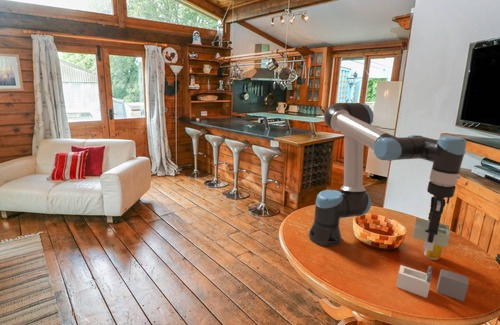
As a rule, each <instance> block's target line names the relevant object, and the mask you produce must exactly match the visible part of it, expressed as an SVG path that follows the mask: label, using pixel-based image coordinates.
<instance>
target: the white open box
mask: <svg viewBox="0 0 500 325" xmlns="http://www.w3.org/2000/svg"><path fill="white" fill-rule="evenodd" d="M432 271H433V266H431V265H429V266H428V268H427V271H426V272H424V271H420V270H418V269H414V268H411V267H408V266H405V265H402V264H400V266H399V271H398V275H397V280H396V285H395V287H396V288H398V289H401V290H403V291H406V292H408V293H411V294H413V295H414V294H415V295H417V296H420V297H422V298H425V299H427V298H428V295H429V292H430V288H431V281H432V276H433V273H432Z"/></svg>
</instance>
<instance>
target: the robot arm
mask: <svg viewBox="0 0 500 325" xmlns="http://www.w3.org/2000/svg"><path fill="white" fill-rule="evenodd" d="M323 118H324V123H325V124H326V126H327V127H328V128H330V129H331V130H333V131H335V132H341V133H342V135H343V136H344V144H343V145H344V148H343V151H344V152H343V153H344V154H343V185H342V186H341V187H340V188H339V189H340V190H336V189H324V190H321V191H320V192H319V193H317V195H316V199H315V206H314V207H315V209H314V218H313V223H312V225H311V227H310V229H309V232H308V238H309V240H310V241H312V242H313V243H314V244H316V245H319V246H322V247H335V246H338V245H339V244H341V242H342V234H341V230H340V220H341V219H343V218H344V219H346V218H351V217H360V216H364V215H366V214H367V213H369V211H370V209H371V206H372V198H371V197H370V194H369V193H368V192H367V189H366V188H365V187H364V185H363V184H364V182H363V181H364V176H363V175H364V147H367V148H370V149H371V150H373V153H374V154H375V156H376V158H377V159H379V160H381V161H388V162H389V161H397V160H399V161H400V160H415V159H422V160H424V161H428V162H430V163H432V167H431V171H430V174H429V181H428V184H427V189H426V191H427V193H428V194H430V195H432V196H431V198H430V205H429V207H430V208H429V209H430V210H429V213H428V217H427V219H428V221H430V223H429V228H428V230H425V232H427V233H426V238H425V241H423V247H422V249H423V250H425V249H426V250H429V251H433V247H434V243H435V238H436V235H437V234H438V227H439V223H440V222H441V218H442V214H443V212H444V209H445V208H444V207H445V206H446V199H448V198H451V199H452V198H454V195H455V191H456V188H457V187H456V185H457V183H458V180H460V179H461V176H460V172H461V167H462V165H463V164H462V163H463V159H464V157H465V154H466V146H467V140H466V138H463V137H461V136H454V135H441V136H439V137H438V139H433V138H430V137H426V136H423V135H415V134H411V135H409V136H407V137H406V136H405V137H397V136H394V135H392V134H390V133H388V132H386V131H384V130H382V129H380V128H378V127H375V126H374V125H372V123H373V122H374V112H373V110H372V108H371V107H370V105H368V104H366V103H361V102H335V103H333V104H331V105H329V106H328V107H327V108H326V110H325V112H324V116H323ZM440 224H441V223H440Z"/></svg>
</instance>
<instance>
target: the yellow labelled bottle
mask: <svg viewBox="0 0 500 325" xmlns="http://www.w3.org/2000/svg"><path fill="white" fill-rule="evenodd" d="M443 248H444V246H441V245H437V244H434V247H433V251H429V250H426V249H423V250H424V251H423V254H424V256H425V257H426V258H427V259H428V260H432V261H438V260H440V258H441V255H442V250H443Z"/></svg>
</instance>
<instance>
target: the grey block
mask: <svg viewBox="0 0 500 325" xmlns="http://www.w3.org/2000/svg"><path fill="white" fill-rule="evenodd" d="M428 220H429V219H428ZM428 220H427V219H423V218H419V217H416V218H415V223H414V226H413V233H412V238H413V239H416V240H418V241H419V240H420V241H423V242H425V238H426V233H427V232H425V230H428V228H429V223H430V221H428ZM450 238H451V232H450V225H448V224H444V223H439V227H438V234H437V235H436V238H435V243H434V244H437V245H441V246H443V248H445V247H446V248H448V245H449V241H450Z"/></svg>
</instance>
